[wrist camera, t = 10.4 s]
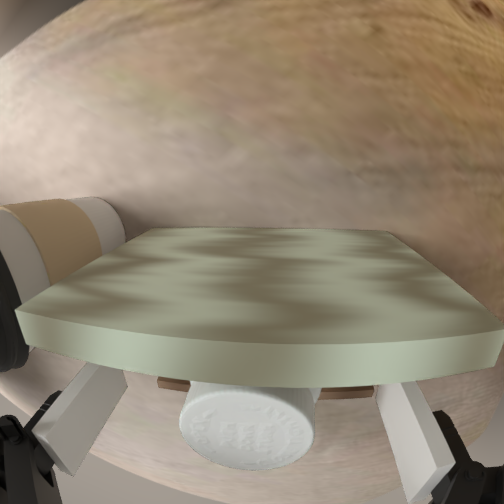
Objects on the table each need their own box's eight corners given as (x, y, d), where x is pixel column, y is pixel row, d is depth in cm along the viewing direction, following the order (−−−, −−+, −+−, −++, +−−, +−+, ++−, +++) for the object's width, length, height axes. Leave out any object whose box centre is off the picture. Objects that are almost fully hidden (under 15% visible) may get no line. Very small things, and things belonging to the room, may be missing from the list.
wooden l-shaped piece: (171, 363, 25) (106, 487, 12) (153, 227, 22) (14, 309, 8) (363, 370, 23) (401, 508, 10) (386, 231, 20) (508, 328, 7)
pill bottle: (327, 287, 19) (365, 413, 9) (285, 355, 21) (280, 488, 10) (243, 247, 19) (194, 350, 8) (208, 322, 21) (151, 444, 10)
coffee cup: (158, 258, 22) (22, 377, 8) (89, 303, 24) (-22, 400, 10) (101, 161, 20) (-68, 182, 6) (41, 220, 23) (-89, 272, 8)
